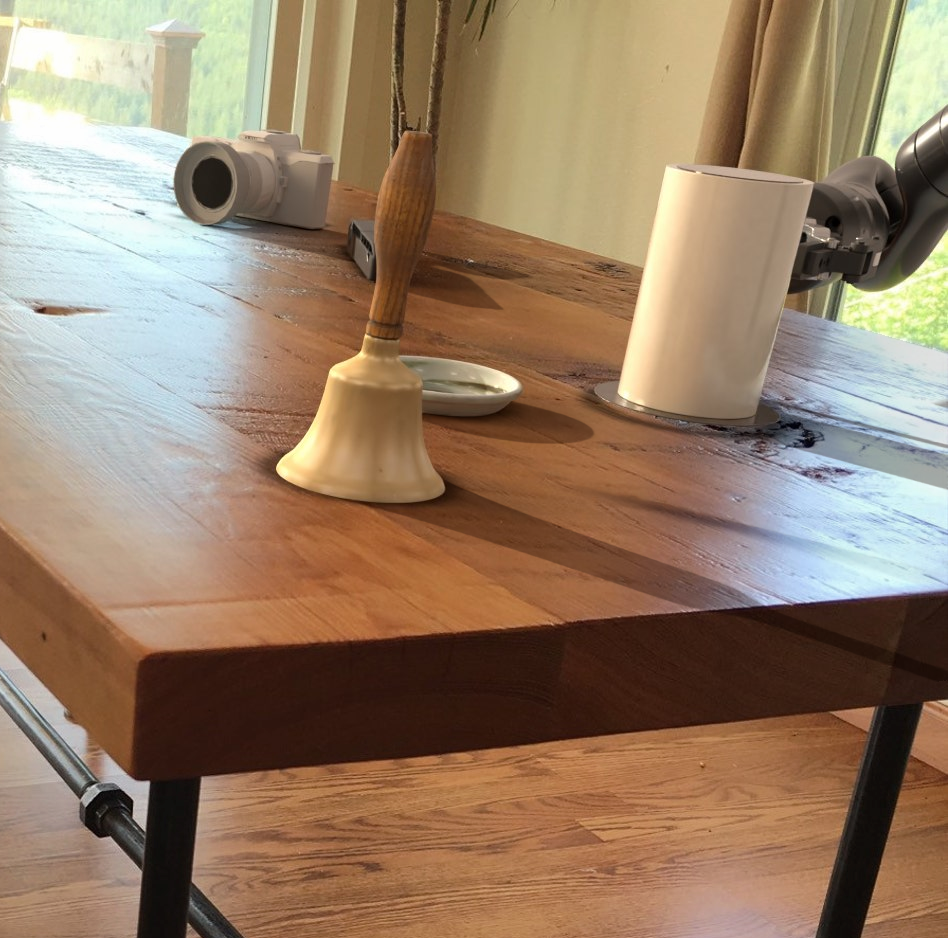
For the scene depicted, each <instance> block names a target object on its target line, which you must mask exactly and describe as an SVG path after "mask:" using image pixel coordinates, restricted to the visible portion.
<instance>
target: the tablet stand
mask: <svg viewBox="0 0 948 938" xmlns="http://www.w3.org/2000/svg"><path fill="white" fill-rule="evenodd" d="M374 227H375V220H366V219H365V220H364V219H356V218H351V219H350V221H349V225H348V229H347V236H346V237H347V238H346V253H348V255H349V257H350V259H352V260H354V261H355V263H356V265H357V266H358V267H359V268H360V270H361V271H362V273H363V274H364V276H365V277H366V279H367V280H368V281H373V282H376V277H377V261H376V253H375V243H374Z"/></svg>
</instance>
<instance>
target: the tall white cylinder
mask: <svg viewBox="0 0 948 938" xmlns="http://www.w3.org/2000/svg"><path fill="white" fill-rule="evenodd" d="M661 182H662V183H661V186H660V190H659V196H658V200H657V204H656V209H655V214H654V219H653V224H652V228H651V233H650V237H649V242H648V247H647V251H646V256H645V260H644V266H643V270H642V275H641V280H640V284H639V289H638V293H637V298H636V302H635V307H634V312H633V317H632V322H631V326H630V330H629V335H628V340H627V345H626V349H625V353H624V354H625V355H624V359H623V363H622V368H621V373H620V377H619V380H618V381H619V386H618V394H619V395H620V396H621V397H623V398H624V399H626V400H628V401H630V402H633V403H636V404H638V405H641V406H645V407H648V408H652V409H656V410H660V411H664V412H669V413H674V414H680V415H686V416H694V417H702V418H714V419H741V418H748V417H751V416H754V415H755V414H756V413H757V409H758V405H759V402H760V400H761V398H762V393H763V389H764V385H765V381H766V378H767V373H768V370H769V366H770V361H771V357H772V353H773V350H774V346H775V342H776V338H777V333H778V329H779V326H780V322H781V318H782V314H783V310H784V306H785V302H786V298H787V295H788V294H787V291H788V287H789V283H790V279H791V275H792V271H793V267H794V263H795V259H796V255H797V251H798V247H799V243H800V239H801V235H802V231H803V228H804V224H805V220H806V216H807V212H808V208H809V204H810V200H811V196H812V192H813V188H814V183H813V182H814V181H812V180H809V179H805V178H802V177H796V176H791V175H787V174H786V175H785V174H781V173H774V172H770V171H769V172H768V171H761V170H755V169H747V168H739V167H729V166H719V165H709V164H693V163H691V164H690V163H669V164H666V165H665V167H664V172H663V177H662V181H661Z"/></svg>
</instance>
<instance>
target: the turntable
mask: <svg viewBox="0 0 948 938" xmlns="http://www.w3.org/2000/svg"><path fill="white" fill-rule="evenodd" d="M619 381H620V380H613V381H607V382H602V383H599V384H597V385H596V386H594V389H593V392H594V393H595V395H597V396H598V397H599V398H601V399H602V400H604V401H607V402H609V403H611V404H613V405H615V406H618V407H621V408H623V409H628V410H630V411H634V412H637V413H641V414H646V415H650V416H654V417H657V418H658V417H659V418H664V419H669V420H674V421H681V422H687V423H694V424H700V425H701V424H702V425H711V426H723V427H761V426H767V425H772V424H776V423H777V422H779V421H780V420H781V414H780V413H779V411H776V409H774V408H772V407H770V406H769V405H766V404H764V403H762V402H760V401H759V405H758V409H757V413H756V414H755V415H754V416H751V417H748V418H741V419H714V418H702V417H694V416H686V415H680V414H674V413H669V412H664V411H660V410H656V409H652V408H648V407H645V406H641V405H638V404H636V403H633V402H630V401H628V400H626V399H624V398H623V397H621V396H620V395H619V394H618V386H619Z"/></svg>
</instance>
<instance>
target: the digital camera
mask: <svg viewBox="0 0 948 938" xmlns="http://www.w3.org/2000/svg"><path fill="white" fill-rule="evenodd" d="M334 165H335V162H334V160H333V156H332V155H329V154H325V153H322V151H319V150H312V149H302V146H301V140H300V136H299V134H296V133H290V132H289V131H281V130H278V129H261V130H245V131H242V132H240V133H239V134H238V135H237V139H234V138H228V137H220V136H213V135H212V136H211V135H194V136H193V137H192V138H191V140H190V144H189V147H188V148H186V149H185V150H184V151H183V153H182V154H181V155H180V157H179V159H178V161H177V163H176V166H175V169H174V172H173V173H174V174H173V193H174V198H175V200H176V205H177V207H178V208H179V209H180V211H181V213H182V214H183V215H184V216H185V217H186V218H187V219H188V220H189V221H190V222H191V221H192V222H193V223H195V224H198V225H202V226H204V225H208V226H209V225H221V224H225V223H227V222H229V221H230V220H232V219H233V218H234V217H235V216H238V217H243V218H248V219H252V220H258V221H264V222H269V223H274V224H280V225H285V226H291V227H296V228H301V229H308V230H319V229H321V230H322V229H324V228H326V224H327V214H328V208H329V202H330V201H329V200H330V192H331V187H332V186H331V185H332V177H333V170H334Z"/></svg>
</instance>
